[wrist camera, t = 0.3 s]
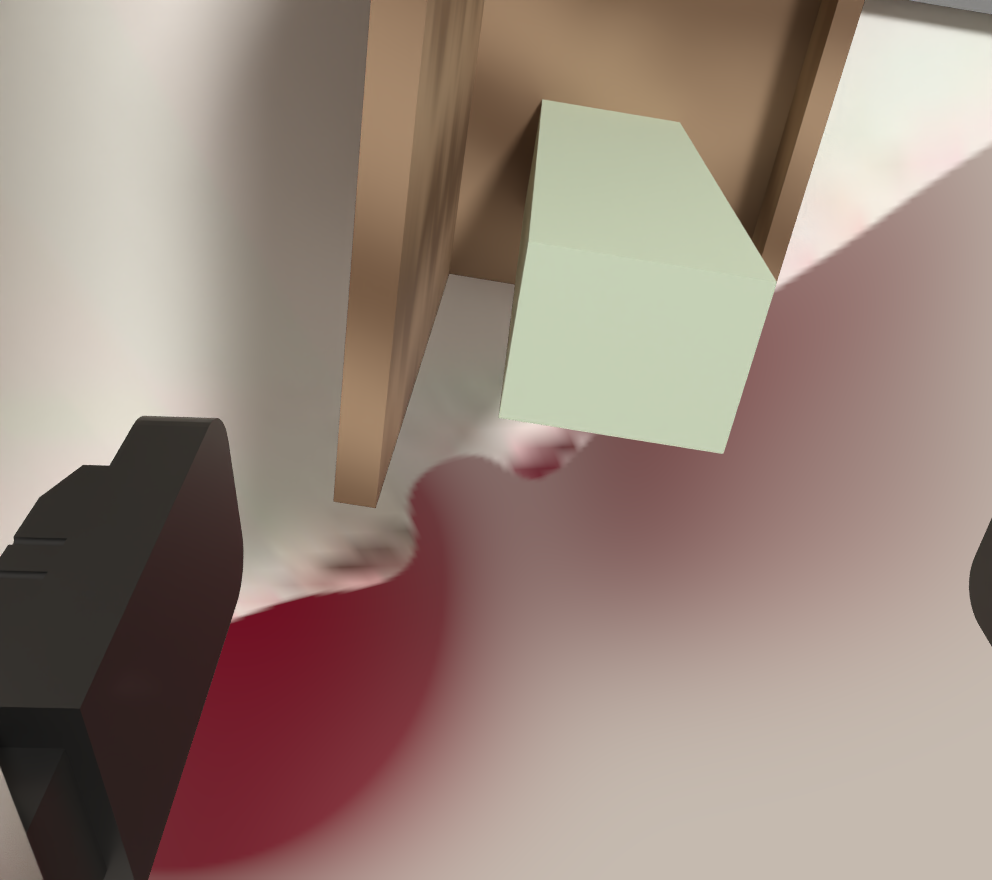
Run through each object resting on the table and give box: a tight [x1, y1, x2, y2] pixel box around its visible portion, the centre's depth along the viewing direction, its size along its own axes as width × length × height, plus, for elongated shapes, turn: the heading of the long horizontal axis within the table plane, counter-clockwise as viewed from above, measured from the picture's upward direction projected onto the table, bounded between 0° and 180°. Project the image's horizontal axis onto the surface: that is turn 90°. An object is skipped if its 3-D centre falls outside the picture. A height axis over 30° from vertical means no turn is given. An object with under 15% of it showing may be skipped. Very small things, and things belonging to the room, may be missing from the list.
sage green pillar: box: [499, 99, 777, 454], centre depth 27 cm, size 4×5×17 cm
